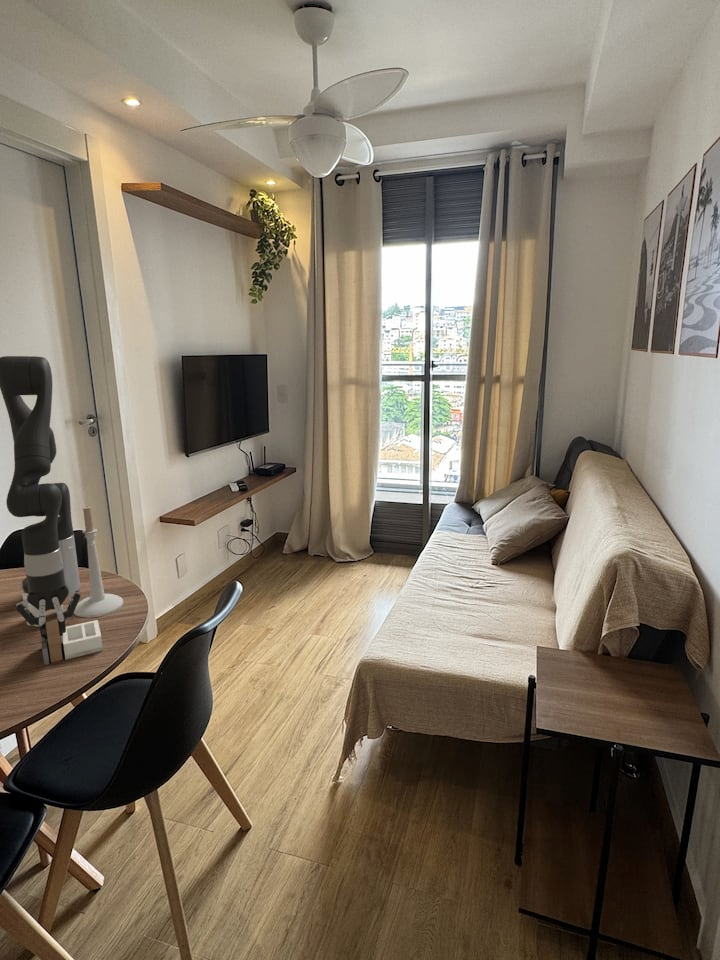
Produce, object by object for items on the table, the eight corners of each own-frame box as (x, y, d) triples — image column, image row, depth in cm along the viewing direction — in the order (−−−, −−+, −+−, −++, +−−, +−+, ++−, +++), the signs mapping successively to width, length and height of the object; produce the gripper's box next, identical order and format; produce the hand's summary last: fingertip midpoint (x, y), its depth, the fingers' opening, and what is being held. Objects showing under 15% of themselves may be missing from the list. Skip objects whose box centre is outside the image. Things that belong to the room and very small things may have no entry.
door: (45, 647, 130) (40, 610, 128) (61, 643, 132) (56, 607, 130) (46, 663, 124) (40, 624, 121) (62, 659, 125) (57, 621, 123)
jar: (33, 613, 147) (27, 573, 144) (66, 610, 149) (60, 570, 146) (23, 629, 138) (16, 587, 136) (58, 625, 141) (52, 583, 138)
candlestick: (73, 602, 154) (60, 502, 147) (121, 593, 159) (111, 497, 152) (73, 621, 143) (59, 515, 136) (125, 611, 148) (114, 508, 141)
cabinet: (44, 646, 130) (41, 628, 129) (99, 633, 137) (97, 616, 135) (44, 665, 123) (41, 645, 122) (102, 650, 129) (100, 632, 128)
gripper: (77, 557, 129) (85, 622, 133) (9, 568, 123) (20, 636, 126) (79, 568, 123) (87, 635, 127) (8, 580, 116) (19, 651, 120)
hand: (53, 635), depth 127 cm, fingers closed
